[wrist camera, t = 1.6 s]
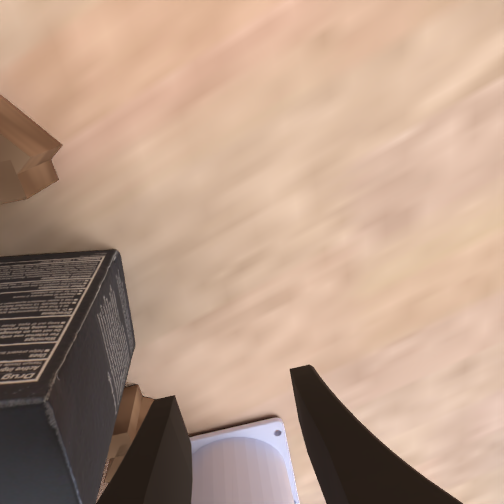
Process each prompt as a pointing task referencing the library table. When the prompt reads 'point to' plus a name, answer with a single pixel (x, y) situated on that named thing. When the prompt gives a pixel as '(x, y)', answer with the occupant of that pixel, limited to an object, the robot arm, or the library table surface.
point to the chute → (26, 185)
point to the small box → (60, 373)
